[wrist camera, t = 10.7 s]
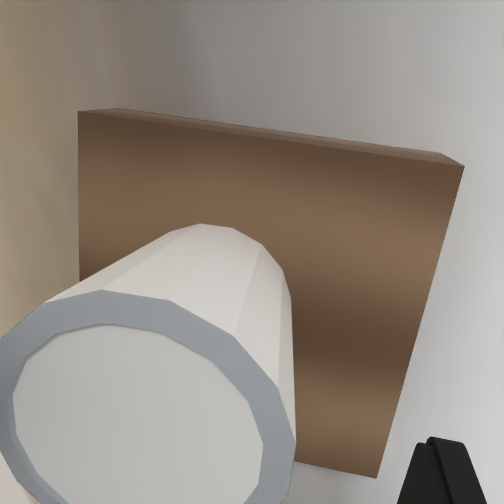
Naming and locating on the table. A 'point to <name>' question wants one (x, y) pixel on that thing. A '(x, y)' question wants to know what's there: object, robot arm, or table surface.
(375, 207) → the walnut plinth
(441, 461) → the robot arm
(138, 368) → the white cup
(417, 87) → the table surface
